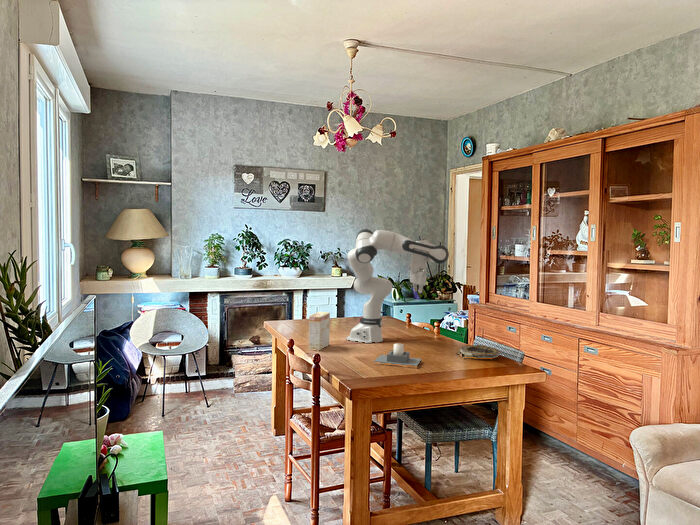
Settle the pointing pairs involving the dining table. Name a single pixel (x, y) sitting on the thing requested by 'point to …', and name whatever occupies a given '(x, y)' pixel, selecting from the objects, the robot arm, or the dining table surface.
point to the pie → (480, 351)
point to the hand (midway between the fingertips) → (417, 292)
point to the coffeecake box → (319, 330)
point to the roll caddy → (398, 359)
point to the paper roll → (398, 349)
